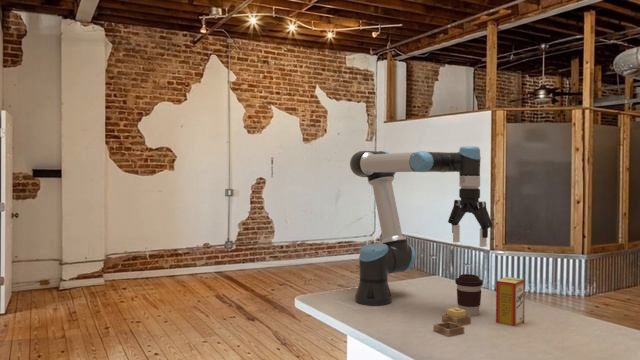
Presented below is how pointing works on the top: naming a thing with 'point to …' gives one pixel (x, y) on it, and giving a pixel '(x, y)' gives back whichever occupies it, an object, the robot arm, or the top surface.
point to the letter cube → (456, 313)
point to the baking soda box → (510, 301)
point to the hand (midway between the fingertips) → (469, 244)
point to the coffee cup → (469, 293)
